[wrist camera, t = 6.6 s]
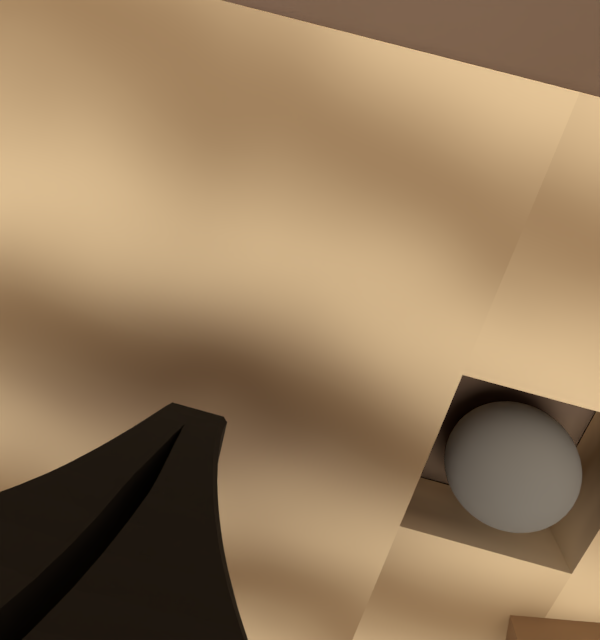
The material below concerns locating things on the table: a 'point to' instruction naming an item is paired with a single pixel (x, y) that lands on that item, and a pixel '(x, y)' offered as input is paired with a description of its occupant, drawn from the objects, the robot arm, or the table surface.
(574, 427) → the table surface
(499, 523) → the ball
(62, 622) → the robot arm
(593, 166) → the deck
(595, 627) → the walnut cube
